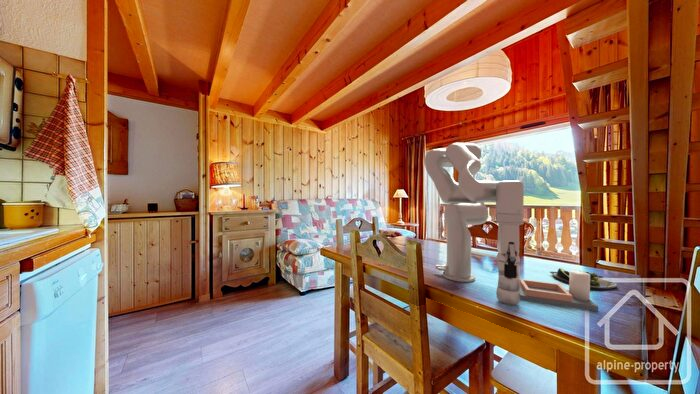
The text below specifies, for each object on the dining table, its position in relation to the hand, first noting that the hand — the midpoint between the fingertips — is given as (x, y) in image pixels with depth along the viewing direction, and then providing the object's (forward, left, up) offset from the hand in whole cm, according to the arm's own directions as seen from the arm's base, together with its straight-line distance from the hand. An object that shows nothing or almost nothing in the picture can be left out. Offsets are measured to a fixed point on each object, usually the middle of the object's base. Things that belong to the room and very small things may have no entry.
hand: (508, 273), depth 80 cm
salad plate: (+30, +35, -10) cm, 47 cm away
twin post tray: (+12, +11, -10) cm, 19 cm away
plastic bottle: (0, 0, -10) cm, 10 cm away
